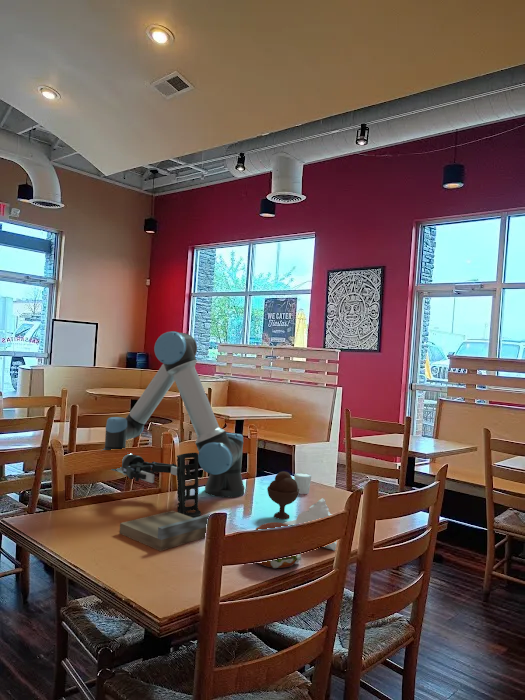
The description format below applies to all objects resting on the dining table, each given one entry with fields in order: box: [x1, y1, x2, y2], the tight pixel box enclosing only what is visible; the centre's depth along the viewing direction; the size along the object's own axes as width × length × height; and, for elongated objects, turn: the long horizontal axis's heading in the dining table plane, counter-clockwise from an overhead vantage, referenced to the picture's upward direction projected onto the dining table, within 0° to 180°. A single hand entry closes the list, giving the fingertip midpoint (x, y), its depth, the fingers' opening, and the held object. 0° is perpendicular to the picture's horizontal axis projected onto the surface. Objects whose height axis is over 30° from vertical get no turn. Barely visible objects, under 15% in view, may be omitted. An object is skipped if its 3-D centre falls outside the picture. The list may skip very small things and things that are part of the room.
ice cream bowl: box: [267, 470, 299, 520], centre depth 187 cm, size 11×11×15 cm
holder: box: [176, 452, 202, 518], centre depth 182 cm, size 11×8×20 cm
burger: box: [255, 521, 302, 569], centre depth 147 cm, size 13×14×10 cm
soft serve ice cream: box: [283, 497, 337, 552], centre depth 163 cm, size 12×15×14 cm
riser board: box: [119, 510, 211, 552], centre depth 162 cm, size 20×18×6 cm
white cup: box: [293, 472, 312, 495], centre depth 222 cm, size 7×7×7 cm
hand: (169, 476), depth 188 cm, fingers open, 13 cm apart
